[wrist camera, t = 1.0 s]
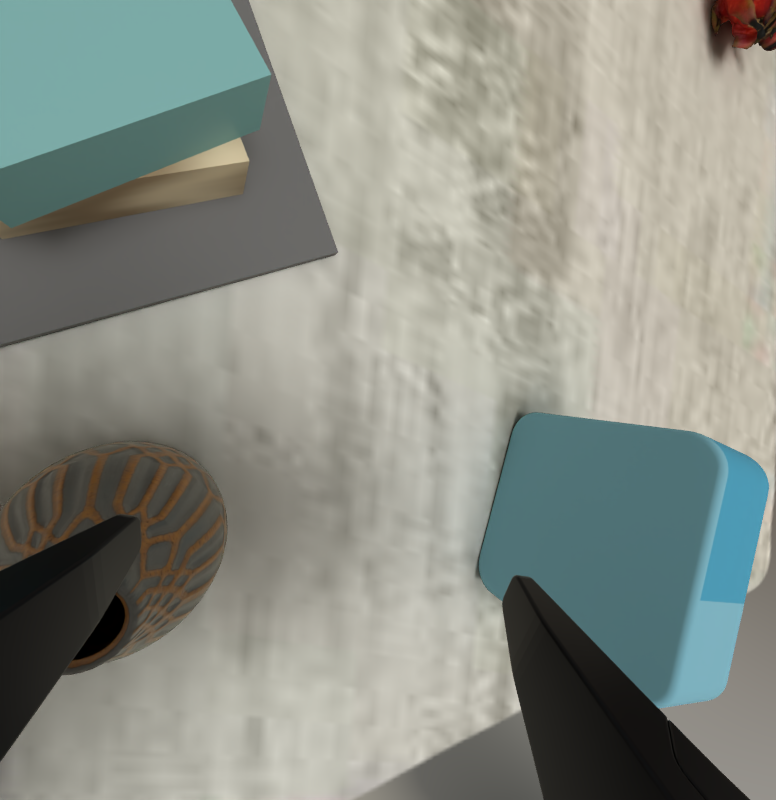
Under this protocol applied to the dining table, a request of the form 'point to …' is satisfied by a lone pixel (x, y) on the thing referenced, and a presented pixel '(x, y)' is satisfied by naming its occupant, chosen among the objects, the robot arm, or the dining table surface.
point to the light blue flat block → (632, 543)
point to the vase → (160, 535)
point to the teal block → (116, 93)
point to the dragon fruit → (748, 21)
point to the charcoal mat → (171, 239)
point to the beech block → (153, 191)
